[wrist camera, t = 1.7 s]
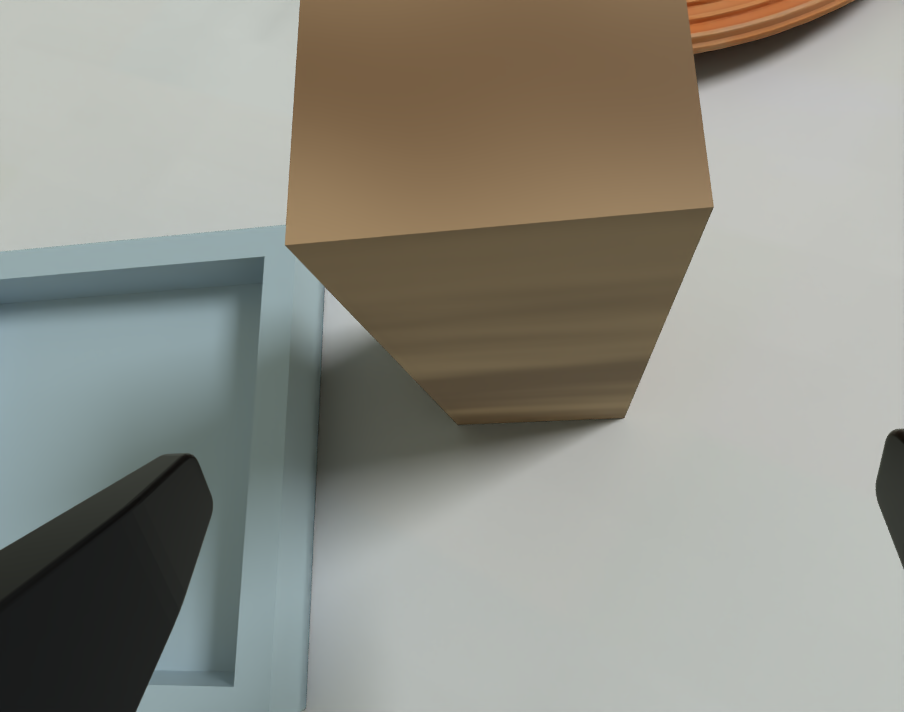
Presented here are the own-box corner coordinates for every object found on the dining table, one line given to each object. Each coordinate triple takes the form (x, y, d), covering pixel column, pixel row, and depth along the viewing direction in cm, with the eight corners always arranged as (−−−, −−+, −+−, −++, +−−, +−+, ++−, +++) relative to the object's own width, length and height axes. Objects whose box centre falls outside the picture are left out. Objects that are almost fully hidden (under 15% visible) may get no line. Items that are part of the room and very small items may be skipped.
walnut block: (624, 417, 20) (713, 207, 7) (457, 424, 20) (284, 244, 8) (613, 291, 21) (676, -78, 8) (455, 302, 22) (301, -19, 9)
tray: (306, 708, 19) (267, 732, 17) (-110, 695, 21) (-196, 715, 19) (325, 257, 23) (297, 223, 20) (-29, 287, 25) (-91, 260, 23)
